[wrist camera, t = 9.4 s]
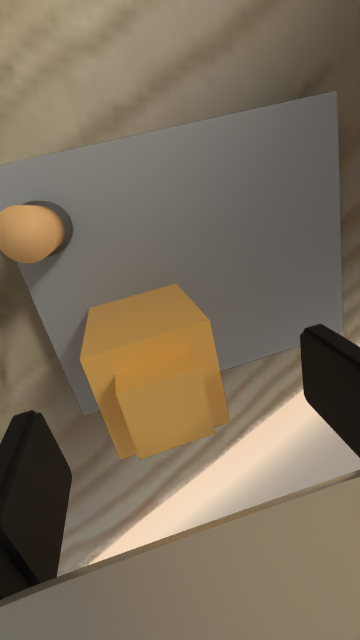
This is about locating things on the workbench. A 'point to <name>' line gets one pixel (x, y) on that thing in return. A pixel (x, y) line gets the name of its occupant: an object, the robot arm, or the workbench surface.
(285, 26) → the workbench surface
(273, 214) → the board
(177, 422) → the stepped orange block
